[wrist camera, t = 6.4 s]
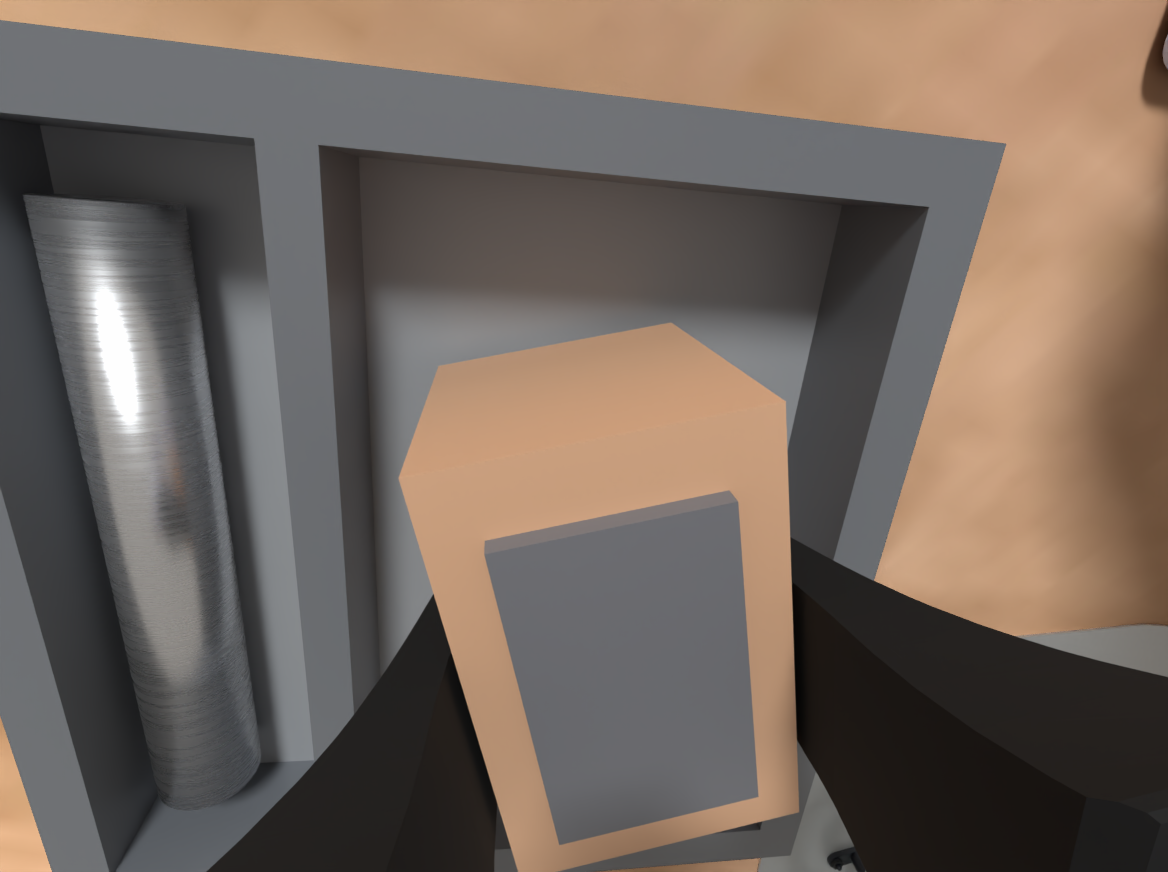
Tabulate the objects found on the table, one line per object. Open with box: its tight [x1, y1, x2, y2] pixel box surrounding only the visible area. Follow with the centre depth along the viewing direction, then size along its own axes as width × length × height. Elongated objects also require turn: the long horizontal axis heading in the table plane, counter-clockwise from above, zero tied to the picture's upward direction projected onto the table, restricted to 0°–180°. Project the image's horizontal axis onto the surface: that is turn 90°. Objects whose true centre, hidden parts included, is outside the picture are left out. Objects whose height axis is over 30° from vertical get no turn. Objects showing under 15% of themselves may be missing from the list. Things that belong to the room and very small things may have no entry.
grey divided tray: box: [0, 20, 1006, 872], centre depth 12 cm, size 16×16×3 cm
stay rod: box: [23, 193, 261, 811], centre depth 12 cm, size 12×2×2 cm
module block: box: [398, 323, 799, 872], centre depth 10 cm, size 4×7×5 cm, turn 9°
